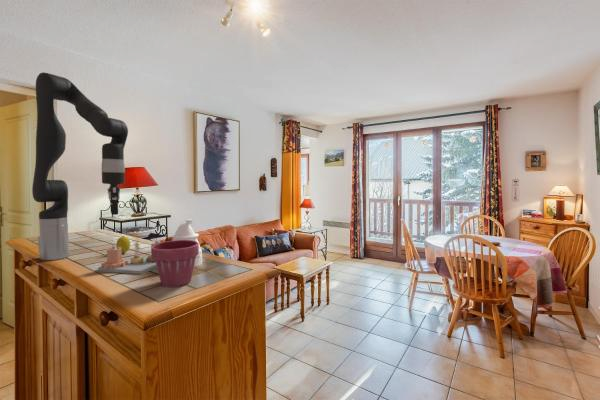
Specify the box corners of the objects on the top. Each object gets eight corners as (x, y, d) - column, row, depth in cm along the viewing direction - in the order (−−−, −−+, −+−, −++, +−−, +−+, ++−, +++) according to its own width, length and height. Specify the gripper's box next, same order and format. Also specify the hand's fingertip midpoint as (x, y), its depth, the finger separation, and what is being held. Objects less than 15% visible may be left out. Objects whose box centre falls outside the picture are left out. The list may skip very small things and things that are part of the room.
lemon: (126, 254, 133) (125, 237, 133) (113, 254, 133) (113, 237, 133) (133, 251, 139) (132, 234, 138) (121, 251, 139) (120, 234, 138)
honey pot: (207, 260, 125) (206, 217, 124) (193, 269, 113) (192, 222, 111) (178, 259, 127) (177, 217, 125) (161, 268, 114) (160, 221, 113)
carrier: (98, 271, 110) (97, 247, 109) (134, 258, 128) (133, 237, 127) (142, 274, 106) (141, 249, 106) (173, 260, 124) (173, 239, 124)
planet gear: (95, 268, 109) (95, 250, 109) (113, 262, 117) (113, 245, 117) (115, 269, 108) (115, 251, 107) (132, 263, 116) (132, 246, 115)
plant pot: (148, 292, 90) (146, 250, 89) (156, 277, 103) (155, 240, 102) (198, 287, 94) (197, 247, 93) (200, 274, 107) (199, 238, 106)
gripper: (125, 171, 111) (126, 215, 112) (123, 171, 123) (124, 210, 124) (101, 171, 107) (102, 216, 108) (101, 171, 118) (102, 211, 120)
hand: (114, 213), depth 116 cm, fingers open, 8 cm apart
